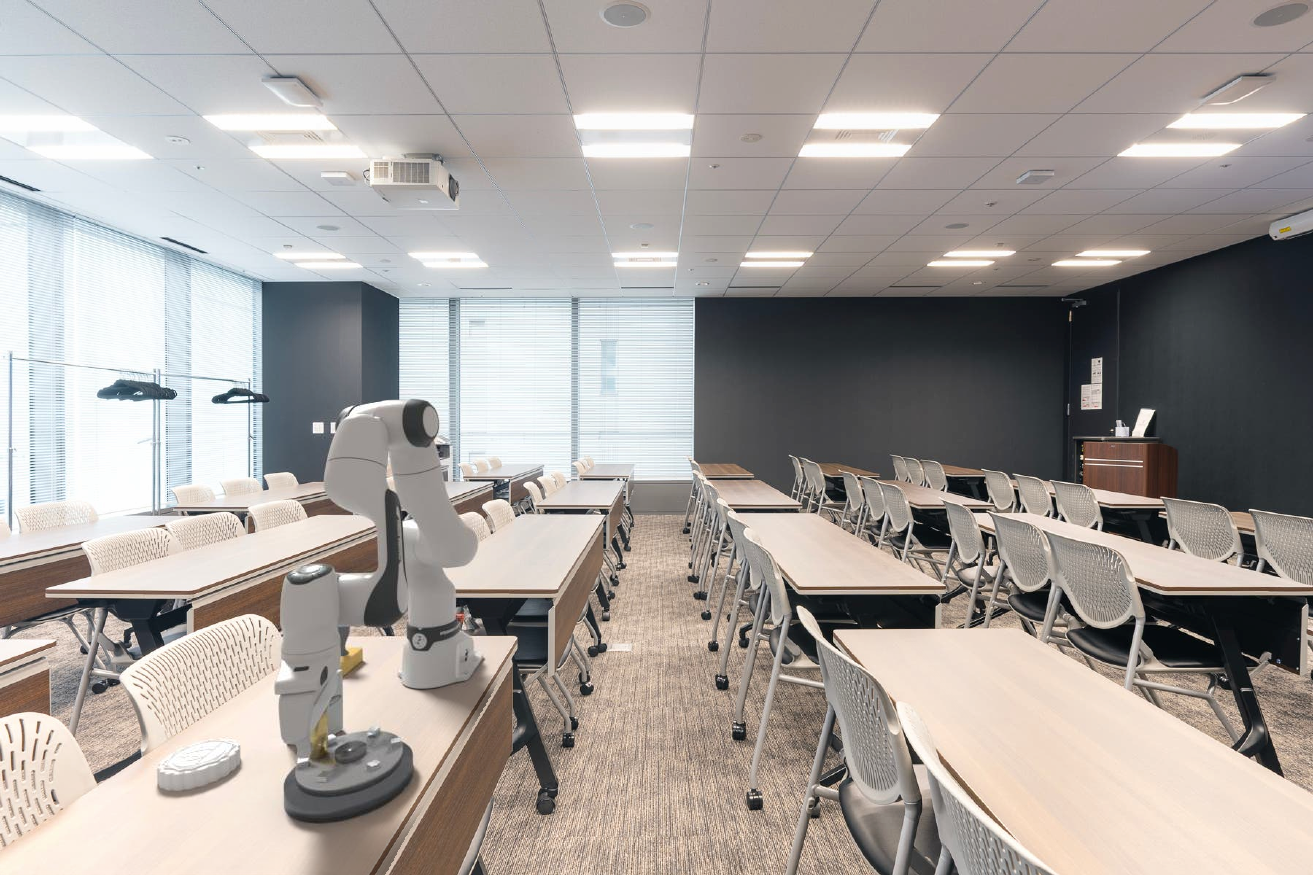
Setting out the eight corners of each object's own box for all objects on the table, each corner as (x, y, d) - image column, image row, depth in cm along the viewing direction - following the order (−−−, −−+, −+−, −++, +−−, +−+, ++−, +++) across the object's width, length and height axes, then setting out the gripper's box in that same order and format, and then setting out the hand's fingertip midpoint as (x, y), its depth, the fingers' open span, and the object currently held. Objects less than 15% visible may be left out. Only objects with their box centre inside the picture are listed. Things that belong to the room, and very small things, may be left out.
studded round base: (271, 793, 96) (270, 739, 96) (335, 739, 113) (334, 693, 112) (369, 798, 95) (369, 744, 95) (419, 742, 111) (419, 696, 111)
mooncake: (188, 755, 114) (188, 736, 113) (254, 752, 115) (254, 733, 114) (139, 794, 102) (138, 773, 102) (213, 790, 103) (213, 769, 103)
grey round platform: (340, 748, 115) (340, 720, 115) (434, 758, 112) (434, 729, 112) (253, 815, 96) (253, 781, 96) (365, 829, 92) (364, 794, 92)
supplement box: (317, 748, 115) (316, 684, 115) (285, 744, 117) (283, 680, 117) (344, 729, 123) (343, 668, 122) (313, 725, 124) (312, 665, 124)
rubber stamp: (341, 660, 158) (340, 616, 158) (363, 660, 158) (362, 615, 158) (321, 676, 148) (320, 629, 148) (344, 676, 149) (343, 628, 148)
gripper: (308, 641, 111) (309, 714, 111) (270, 689, 91) (272, 778, 92) (345, 638, 113) (347, 710, 113) (316, 684, 93) (317, 771, 93)
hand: (313, 741), depth 102 cm, fingers open, 8 cm apart
